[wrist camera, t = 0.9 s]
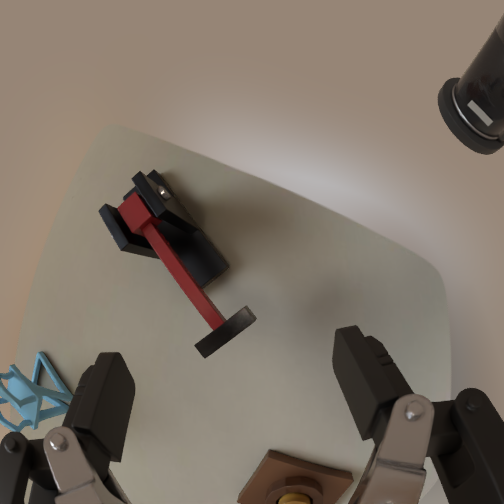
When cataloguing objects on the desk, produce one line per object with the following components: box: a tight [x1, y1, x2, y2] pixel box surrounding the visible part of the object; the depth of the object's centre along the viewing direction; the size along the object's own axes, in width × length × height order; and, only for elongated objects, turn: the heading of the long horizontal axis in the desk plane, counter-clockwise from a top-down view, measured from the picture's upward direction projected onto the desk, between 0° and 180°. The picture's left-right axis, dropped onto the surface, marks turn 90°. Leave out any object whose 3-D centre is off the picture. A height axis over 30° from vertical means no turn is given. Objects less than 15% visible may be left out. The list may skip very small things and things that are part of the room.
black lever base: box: [99, 170, 229, 289], centre depth 26 cm, size 14×6×10 cm, turn 39°
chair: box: [0, 352, 73, 432], centre depth 25 cm, size 8×8×12 cm
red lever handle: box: [117, 192, 257, 358], centre depth 23 cm, size 14×5×2 cm, turn 38°
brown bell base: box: [237, 450, 354, 504], centre depth 24 cm, size 11×9×4 cm
